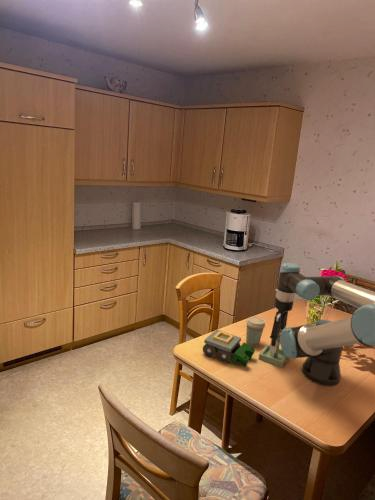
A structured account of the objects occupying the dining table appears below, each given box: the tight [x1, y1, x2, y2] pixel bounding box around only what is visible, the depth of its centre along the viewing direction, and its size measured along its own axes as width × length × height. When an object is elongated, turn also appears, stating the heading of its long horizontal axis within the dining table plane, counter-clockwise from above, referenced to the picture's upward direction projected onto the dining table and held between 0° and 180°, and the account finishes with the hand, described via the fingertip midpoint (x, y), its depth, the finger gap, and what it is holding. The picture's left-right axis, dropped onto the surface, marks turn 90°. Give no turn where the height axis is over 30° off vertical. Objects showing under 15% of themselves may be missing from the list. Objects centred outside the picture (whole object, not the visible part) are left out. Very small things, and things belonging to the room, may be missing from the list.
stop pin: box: [270, 331, 282, 359], centre depth 162 cm, size 4×4×12 cm
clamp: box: [229, 341, 256, 367], centre depth 158 cm, size 12×6×9 cm, turn 144°
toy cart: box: [202, 329, 242, 364], centre depth 161 cm, size 13×12×9 cm
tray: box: [258, 344, 289, 368], centre depth 163 cm, size 10×10×2 cm
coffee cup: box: [245, 316, 266, 348], centre depth 172 cm, size 8×8×12 cm
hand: (275, 347), depth 162 cm, fingers open, 9 cm apart
